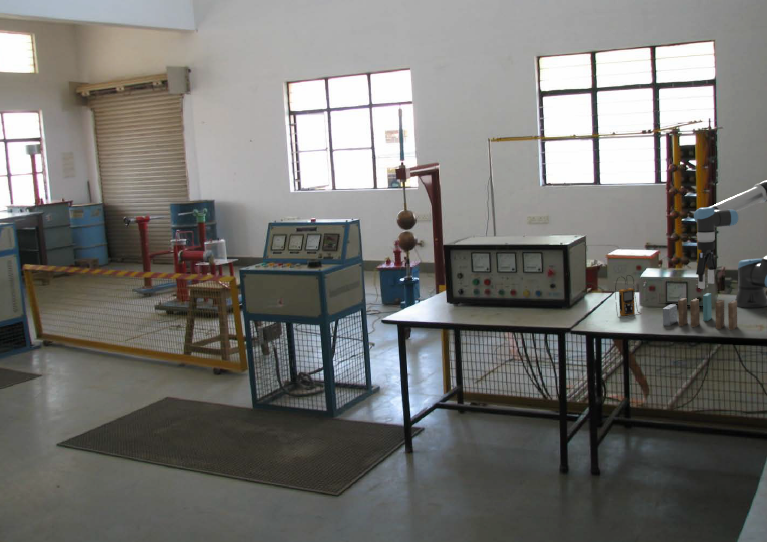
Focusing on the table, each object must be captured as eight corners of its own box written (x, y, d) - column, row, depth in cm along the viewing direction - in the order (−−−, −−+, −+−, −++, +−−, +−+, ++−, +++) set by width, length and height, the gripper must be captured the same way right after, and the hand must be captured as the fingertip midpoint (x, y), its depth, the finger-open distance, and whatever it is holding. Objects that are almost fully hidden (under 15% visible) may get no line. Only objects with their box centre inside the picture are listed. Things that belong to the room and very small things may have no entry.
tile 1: (737, 326, 354) (736, 300, 352) (733, 329, 350) (732, 303, 348) (732, 326, 355) (732, 300, 354) (728, 329, 351) (728, 303, 349)
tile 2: (724, 325, 358) (724, 300, 356) (720, 328, 353) (720, 302, 351) (719, 325, 359) (719, 299, 357) (715, 328, 354) (715, 302, 352)
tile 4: (699, 324, 365) (699, 298, 363) (695, 326, 360) (694, 301, 358) (695, 323, 366) (694, 298, 364) (690, 326, 361) (690, 300, 359)
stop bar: (677, 321, 373) (676, 304, 372) (669, 325, 366) (669, 309, 364) (670, 320, 375) (670, 304, 374) (663, 325, 367) (662, 308, 366)
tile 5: (687, 323, 368) (687, 297, 366) (683, 325, 364) (682, 300, 362) (683, 322, 369) (682, 297, 367) (678, 325, 365) (678, 300, 363)
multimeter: (626, 320, 383) (625, 279, 380) (613, 316, 393) (612, 277, 390) (651, 315, 389) (649, 275, 386) (637, 312, 398) (636, 273, 395)
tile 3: (711, 318, 373) (711, 293, 372) (707, 320, 369) (707, 295, 367) (707, 317, 375) (706, 293, 373) (703, 320, 370) (702, 295, 368)
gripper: (706, 237, 378) (706, 280, 381) (688, 244, 359) (689, 290, 362) (722, 237, 373) (722, 281, 376) (705, 244, 354) (706, 291, 357)
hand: (706, 285), depth 369 cm, fingers open, 13 cm apart
